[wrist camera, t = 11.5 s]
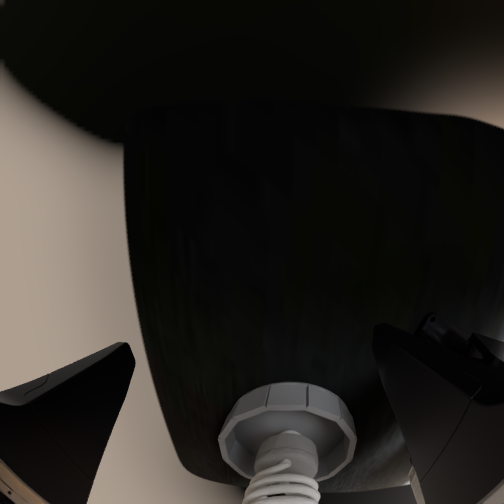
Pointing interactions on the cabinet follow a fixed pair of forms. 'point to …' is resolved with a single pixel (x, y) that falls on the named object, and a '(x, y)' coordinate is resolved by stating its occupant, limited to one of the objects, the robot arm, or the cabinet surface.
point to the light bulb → (285, 471)
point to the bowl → (289, 425)
